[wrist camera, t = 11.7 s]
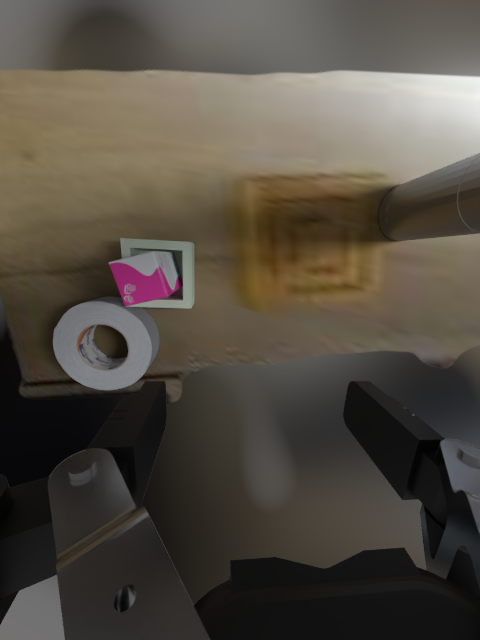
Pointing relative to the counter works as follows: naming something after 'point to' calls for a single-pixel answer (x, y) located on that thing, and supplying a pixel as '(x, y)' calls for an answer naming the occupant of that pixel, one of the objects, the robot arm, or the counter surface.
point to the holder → (184, 262)
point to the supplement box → (146, 276)
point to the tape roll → (87, 360)
